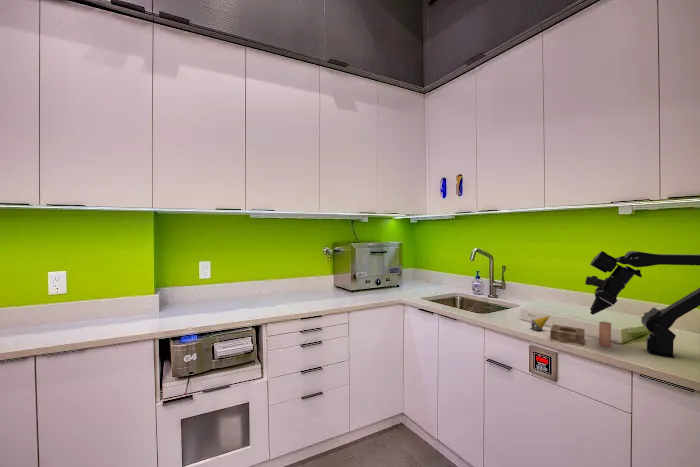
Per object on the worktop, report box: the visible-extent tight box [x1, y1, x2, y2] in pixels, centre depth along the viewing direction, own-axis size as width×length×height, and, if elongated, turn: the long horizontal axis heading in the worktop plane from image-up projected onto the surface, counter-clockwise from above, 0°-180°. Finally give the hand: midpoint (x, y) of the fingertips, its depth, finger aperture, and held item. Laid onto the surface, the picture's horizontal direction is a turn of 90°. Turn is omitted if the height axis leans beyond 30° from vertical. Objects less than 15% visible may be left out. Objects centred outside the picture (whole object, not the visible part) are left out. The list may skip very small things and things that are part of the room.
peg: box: [598, 321, 612, 349], centre depth 126 cm, size 4×4×9 cm
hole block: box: [549, 324, 586, 347], centre depth 133 cm, size 11×11×4 cm
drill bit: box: [530, 315, 551, 332], centre depth 145 cm, size 5×5×10 cm
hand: (591, 312), depth 129 cm, fingers open, 9 cm apart
